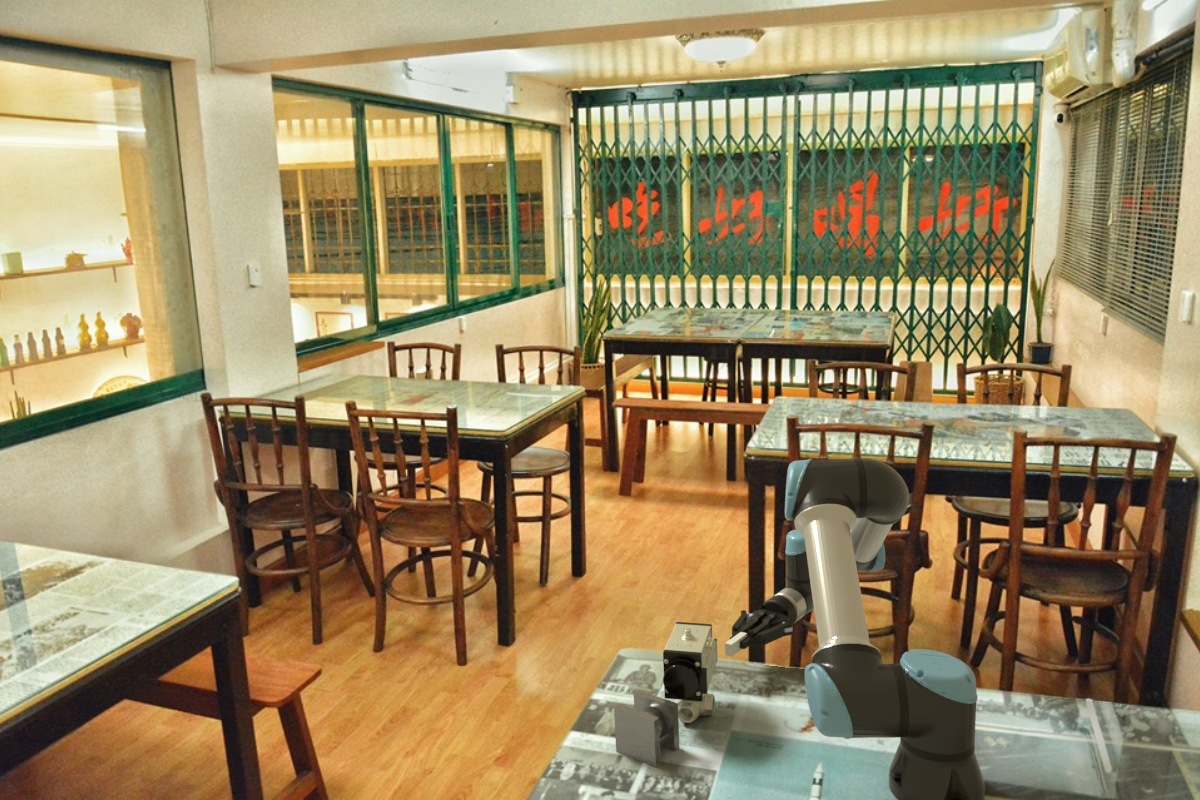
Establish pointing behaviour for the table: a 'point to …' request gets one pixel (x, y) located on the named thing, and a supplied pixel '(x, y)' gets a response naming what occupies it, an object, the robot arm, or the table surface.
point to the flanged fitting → (646, 728)
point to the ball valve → (690, 669)
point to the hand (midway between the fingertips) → (728, 650)
